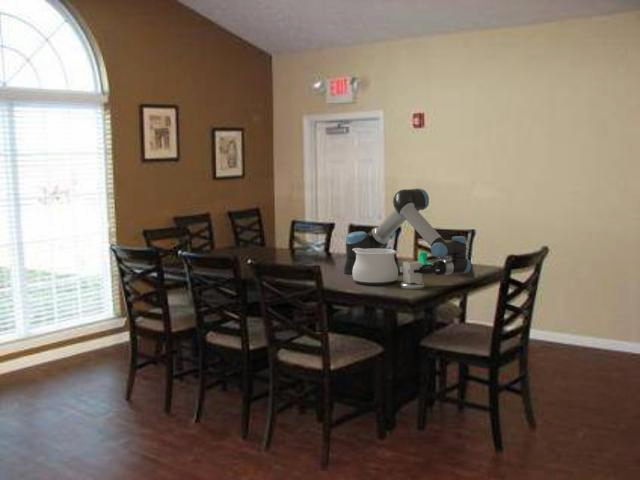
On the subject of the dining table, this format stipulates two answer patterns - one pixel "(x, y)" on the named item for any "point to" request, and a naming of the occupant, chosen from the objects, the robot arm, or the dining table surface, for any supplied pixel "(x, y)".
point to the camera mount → (423, 258)
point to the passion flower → (446, 258)
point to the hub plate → (412, 285)
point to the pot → (375, 266)
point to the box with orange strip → (411, 277)
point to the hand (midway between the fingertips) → (403, 270)
